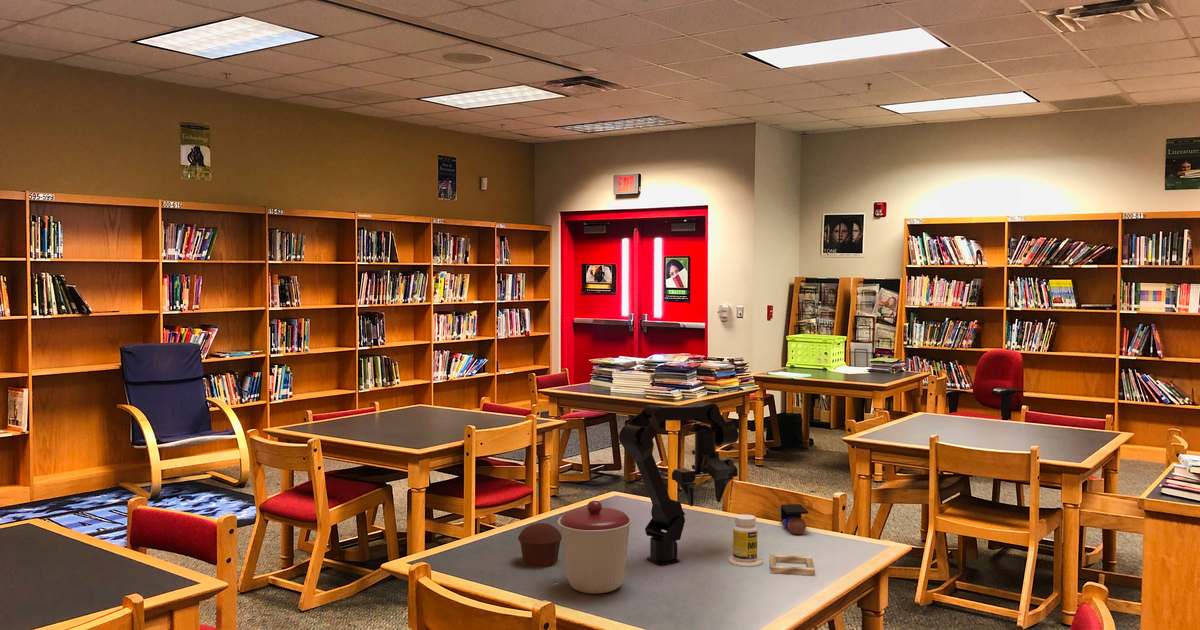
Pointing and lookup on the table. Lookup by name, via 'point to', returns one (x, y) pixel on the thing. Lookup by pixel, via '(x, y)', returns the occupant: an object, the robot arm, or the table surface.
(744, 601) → the table surface
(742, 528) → the supplement bottle
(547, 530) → the muffin
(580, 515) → the canister
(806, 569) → the pocket frame
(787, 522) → the figurine character
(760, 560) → the coaster
